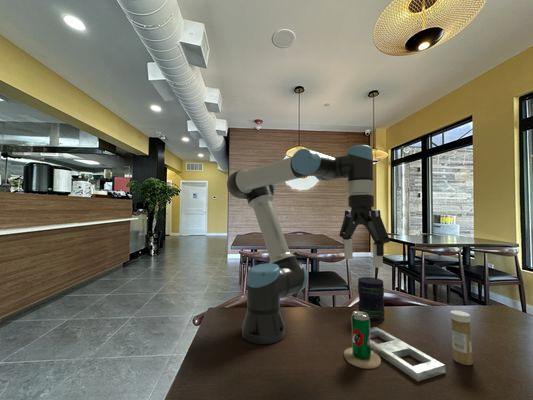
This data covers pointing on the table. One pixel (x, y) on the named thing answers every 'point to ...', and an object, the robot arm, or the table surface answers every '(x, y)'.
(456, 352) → the sprinkles bottle
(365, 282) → the dark blue canister
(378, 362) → the coaster
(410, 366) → the white flat rectangular frame
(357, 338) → the soda can
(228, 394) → the table surface
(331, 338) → the table surface
